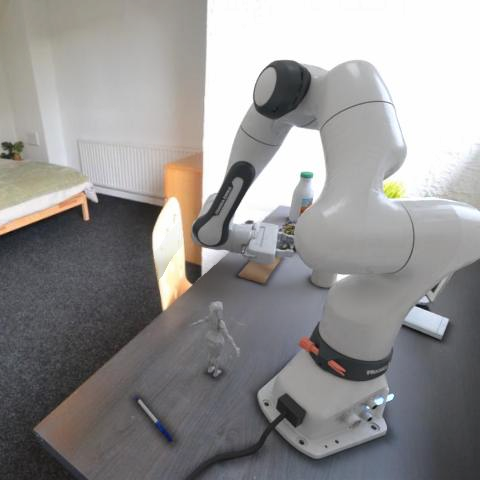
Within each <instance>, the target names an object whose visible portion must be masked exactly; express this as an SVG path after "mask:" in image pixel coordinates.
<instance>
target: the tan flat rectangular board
mask: <svg viewBox="0 0 480 480" xmlns="http://www.w3.org/2000/svg"><path fill="white" fill-rule="evenodd" d="M282 258H283V257H282ZM282 258H275V259H274V263H273V264H263V263H259V262H255V261H251V260H249V262H247V263H246V265H245V266H244V267H243V268H242V270H240V272H239V273H238V274H237V277H238V278H241V279H245V280H249V281H252V282H254V283H257V284H260V285H261V284H262V285H265V283H266V282H267V280H268V278H269V277H270V276H271V274H272V273H273V271H274V270H275V268H276V267H277V266H278V264H279V263H280V262H281V260H282Z"/></svg>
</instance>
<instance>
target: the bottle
mask: <svg viewBox="0 0 480 480" xmlns="http://www.w3.org/2000/svg"><path fill="white" fill-rule="evenodd" d="M311 270H312V271H311V274H310V275H311V276H310V281H311V283H312V284H314V285H315V286H317V287H321V288H329V289H330V288H331V287H332V286H333V285H334V284H335V283H336V282H337V278H338V274H335V273H328V272H323V271H318V270H313V269H311Z"/></svg>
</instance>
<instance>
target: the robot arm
mask: <svg viewBox="0 0 480 480" xmlns="http://www.w3.org/2000/svg"><path fill="white" fill-rule="evenodd" d="M252 101H253V102H252V103H251V105H250V106H249V108H248V109H247V111H246V113H245V114H244V116H243V118H242V120H241V122H240V124H239V126H238V129H237V131H236V134H235V136H234V139H233V142H232V146H231V150H230V154H229V156H228V157H229V158H228V161H227V165H226V170H225V173H224V177H223V180H222V183H221V185H220V187H219V189H218V191H217V192H214V193H212V194H210V195H208V197H207V198H206V200H205V201H204V203H203V205H202V207H201V209H200V211H199V214H198V216H197V218H196V219H195V220H194V221H193V222H192V223H191V227H190V238H191V241H192V243H193V244H194V245H196V246H198V247H201V248H204V249H208V250H212V251H213V250H214V251H227V252H229V253H233V254H240V255H242V256H243V258H247V260H249V261H250V260H251V261H255V262H259V263H263V264H273V263H274V259H275V258H293V257H294V249H295V251H296V253H297V255H298V258H299V259H300V260H301V261H302V263H303V264H304V265H305V266H306V267H307V268H308V269H310V270H318V271H323V272H328V273H335V274H337V275H342V276H344V275H345V277H343V278H341V279H340V280H338V281H336V282H335V284H334V285H333V286H332V287H329V289H328V291H327V293H326V296H325V300H324V304H323V307H322V312H321V316H320V319H319V321H318V322H317V324H316V326H315V327H314V328H313V330H312V331H311V335H310V337H308V336H303V337H302V338H301V339H299V341H298V346H299V347H300V348H301V349H300V350H299V351H298V352H297V353H296V354H295V355H294V356H293V357H292V358H291V359H290V361H288V363H287V364H285V366H284V367H283V368H282V369H281V370H280V371H279V372H278V373H277V374H276V375H275V376H274V377H272V379H270V380H269V381H268V382H267V383H266V384H265V385H263V386H262V387H261V388H260V389H259V390H258V392H257V394H256V398H257V402H258V405H259V408H260V409H261V411H262V413H263V414H264V416H265V418H266V419H267V420H268V422H269V425H268V426H266V428H265V429H264V430H263V432H262V434H261V436H260V438H259V439H258V441H257V442H256V443H255V444H253V445H252V446H251V447H248V448H246V449H243V450H238V451H233V452H225V453H220V454H217V455H214V456H212V457H210V458H208V459H206V460H205V461H203V462H202V463H201V464H200V465H198V466H197V467H196V468H195V469H194V470H193V471H192V472H191V473H190V474H189V475H188V477H187V478H186V479H185V480H195V479H196V478H197V477H198V476H199V475H200V474H201V473H202V472H203V471H205V470H206V469H207V468H209V467H210V466H212V465H214V464H216V463H219V462H221V461H225V460H232V459H238V458H242V457H247V456H249V455H252V454H254V453H256V452H257V451H259V450H260V449H261V448H262V447H263V446H264V444H265V443H266V440H267V439H268V437H269V436H270V434H271V433H272V431H273V430H274V429H275V430H276V431H277V432H278V433H279V434H280V435H281V437H282V438H283V439H285V440H286V441H287V443H289V444H290V445H291V446H292V447H294V448H295V449H296V450H298V451H299V452H300V453H302V454H304V455H305V456H308V457H309V458H311V459H314V460H320V459H323V458H327V457H328V456H331V455H335V454H337V453H340V452H342V451H345V450H348V449H350V448H353V447H356V446H359V445H361V444H364V443H367V442H369V441H372V440H375V439H378V438H381V437H383V436H385V435H386V434H387V431H388V426H387V423H386V421H385V419H384V416H383V415H384V411H385V408H386V404H387V402H389V401H391V400H393V398H394V397H395V396H394V393H391V394H390V389H389V385H388V379H387V376H386V372H387V371H388V368H389V367H390V366H391V363H392V360H393V354H394V344H395V342H396V339H397V337H398V335H399V333H400V330H401V329H402V326H403V322H404V320H405V318H406V317H407V315H408V314H409V312H410V311H411V310H412V309H413V307H414V306H417V304H418V303H419V302H420V301H422V300H423V298H424V297H425V296H426V295H427V294H428V293H429V292H430V291H431V290H433V289H434V288H435V287H436V286H438V284H440V282H442V281H443V280H445V279H446V278H447V277H449V276H450V275H452V274H453V273H455V272H457V271H459V270H461V269H463V268H465V267H467V266H469V265H472V264H473V263H475V262H476V261H478V260H479V259H480V210H479V209H478V208H476V207H475V206H473V205H471V204H469V203H465V202H461V201H457V200H452V199H445V198H440V197H439V198H438V197H433V196H432V197H404V198H403V197H401V198H400V197H399V198H398V197H397V198H391V197H388V196H387V195H386V193H385V191H384V190H385V189H384V181H386V180H387V179H388V178H390V177H392V176H393V175H394V174H396V173H397V172H398V171H399V170H400V169H401V168H402V166H403V165H404V163H405V161H406V159H407V156H408V152H409V147H408V144H407V139H406V135H405V133H404V130H403V126H402V122H401V120H400V117H399V114H398V113H399V112H398V111H397V107H396V104H395V101H394V98H393V97H392V94H391V91H390V89H389V87H388V85H387V83H386V82H385V80H384V78H383V76H382V74H381V73H380V71H379V70H378V69H377V67H376V66H375V65H374V64H373V63H371V62H369V61H367V60H364V59H352V60H347V61H344V62H341V63H339V64H337V65H335V66H334V67H332V68H331V69H330V70H328V69H325V68H323V67H321V66H316V65H312V64H307V63H301V62H298V61H296V60H292V59H277V60H276V59H275V60H273V61H271V62H270V63H269V64H267V65H266V66H265V67H264V68H262V71H261V72H260V73H259V75H258V76H257V79H256V81H255V84H254V87H253V91H252ZM293 127H296V128H299V129H304V130H313V131H319V137H320V141H321V142H320V143H321V146H322V152H323V158H324V164H325V165H324V167H325V180H324V184H323V187H322V189H321V192H320V194H319V195H318V197H317V198H316V200H315V201H314V202H312V205H311V206H309V207H308V208H307V209H306V210H305V211H304V212H303V213H302V215H301V216H300V217H299V219H298V221H297V223H296V226H295V230H294V236H293V235H288V234H285V233H283V232H278V231H279V226H278V225H277V224H274V223H268V222H264V221H263V222H261V221H256V222H255V220H254V219H247V220H246V221H244V222H242V223H234V218H235V215H236V212H237V210H238V208H239V206H240V204H241V203H242V202H243V200H244V198H245V196H246V194H247V192H248V191H249V189H250V188H251V187H252V185H253V184H254V183H255V182H256V180H257V179H258V177H260V175H261V173H262V172H263V171H264V170H265V169H266V167H268V165H269V163H271V161H272V160H273V159H274V157H275V156H276V154H277V153H278V152H279V150H280V148H281V147H282V145H283V144H284V142H285V140H286V139H287V136H288V135H289V133H290V131H291V130H292V129H293ZM281 239H282V240H285V241H287V242H291V243H292V242H293V240H294V245H295V247H294V249H291V248H286V249H280V248H277V242H278V241H280V240H281Z"/></svg>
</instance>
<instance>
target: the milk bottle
mask: <svg viewBox="0 0 480 480" xmlns="http://www.w3.org/2000/svg"><path fill="white" fill-rule="evenodd" d="M313 178H314V173H313V172H312V171H301V172H300V175H299V181H298V183H297V185H296V186H295V188H294V189H293V193H292V197H291V202H290V209H289V215H288V221H290V220H291V221H297V220H298V219H299V217H300V216H301V215H302V213H303V212H304V211H305V210H306V209H307V208H308V207H309V206H311V205H312V204H313V203H314V202H313V201H314V195H315V194H314V193H315V192H314V187H313V181H312V180H313Z"/></svg>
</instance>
